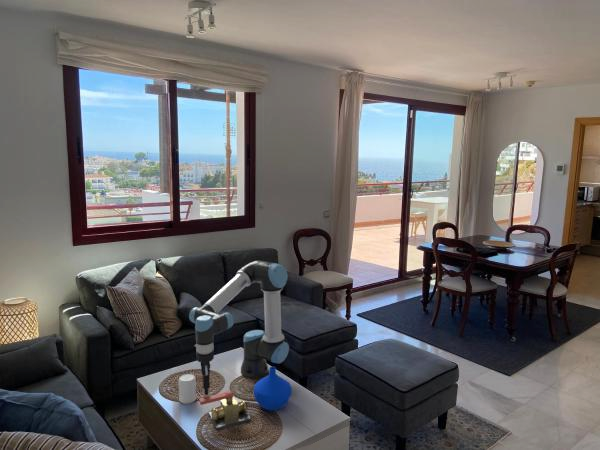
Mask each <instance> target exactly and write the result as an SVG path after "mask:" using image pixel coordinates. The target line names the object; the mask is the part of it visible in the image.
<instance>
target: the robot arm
mask: <svg viewBox="0 0 600 450" xmlns="http://www.w3.org/2000/svg"><path fill="white" fill-rule="evenodd" d="M288 276H289V275H288V271H287V269H286V267H284V265H282V264H278V263H277V262H276V263H275V262H269V261H264V260H254V261H251V262H249V263H247V264H245V265H244V266H242V267H241V268H240V269H238V270H237V272H236V274H235V276H233V278H231V279H230V280H229V281H228V282H227V283H226V284H225V285H224V286H222V287H221V288H220V289H219V290H218V291H217V292H216V293H215V294H214V295H213V296H212V297H211V298H210V299H208V300H207V301H206V302H204V304H203V305H202V306H200V307H199V306H196V307H193V308H192V309H191V310H190V311H189V314H188V316H189V317H188V318H189V321H190V322H191V323H193V324H195V326H194V329H195V342H196V344H194V347H195V348H196V349H195V350H196V353H195V354H196V356H195V357H196V361H197V362H198V363H200V369H201V375H202V376H201V377H202V378H201V379H202V386H201V389H202V398H204V397H208V396H210V388H211V387H210V385H211V382H210V374H211V369H210V368H211V363H210V362H211V361H213V360H214V358H215V352H214V349H215V348H214V336H216V335H218V334H221V333H222V332H224V331H227V330H228V329H231V328H232V327H233V325H234V320H235V319H234V316H233V315H232V314H231V313H230V312H228V311H226V312H222V313H219V312H220V311H221V310H222V309H223V308H224V307H226V306H227V304H229V303H230V301H232V300H233V299H234V298H235V297H236V296H238V294H240V293H241V291H242V290H244V289H245V287H246V288H247V287H249V286H250V285H252V284H254V283H257V284H260V290H261V291H262V292H263V306H264V307H263V309H264V330H261V329H253V330H249V331H247V332H246V333H245V334H244V335H243V362H242V363H241V366H240V373H241V375H242V376H243V377H245V378H248V379H249V378H250V379H257V378H258V379H259V378H262V377H265V376H266V375H268V374H269V373H268V372H269V367H268V363H267V361H268V362H271V363H274V364H281V363H282V362H284V361H285V360H286V358H287V356H288V354H289V352H290V351H289V350H290V345H289V343H288V342H286V341H285V335H284V334H283V333H282V312H281V311H282V308H281V291H283V289H284V287H285V285H286V284H287V281H288V279H289V278H288Z"/></svg>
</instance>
